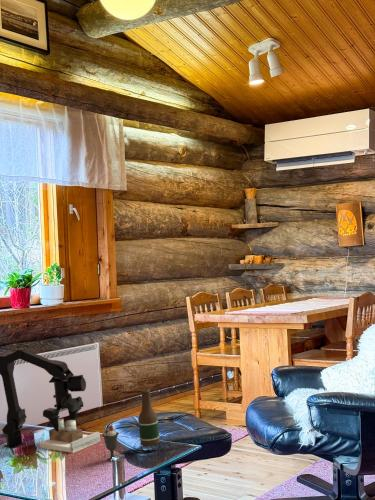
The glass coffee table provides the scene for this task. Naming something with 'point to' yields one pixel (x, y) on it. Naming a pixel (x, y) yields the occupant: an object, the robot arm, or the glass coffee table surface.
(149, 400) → the beer bottle
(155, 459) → the glass coffee table surface
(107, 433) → the sundae
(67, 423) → the glass caddy
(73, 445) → the cream flat block
